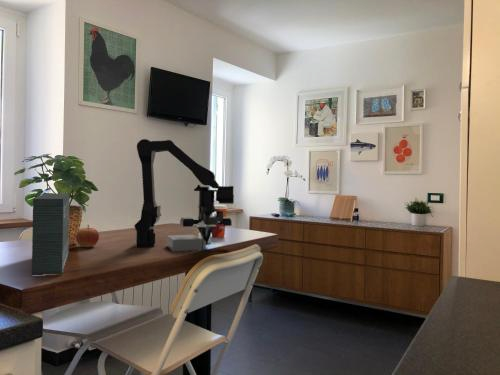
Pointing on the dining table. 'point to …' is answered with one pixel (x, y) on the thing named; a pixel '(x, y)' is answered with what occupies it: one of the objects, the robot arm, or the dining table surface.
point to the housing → (184, 242)
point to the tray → (203, 243)
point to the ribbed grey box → (50, 233)
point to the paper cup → (220, 229)
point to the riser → (208, 240)
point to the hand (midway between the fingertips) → (205, 244)
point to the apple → (87, 237)
